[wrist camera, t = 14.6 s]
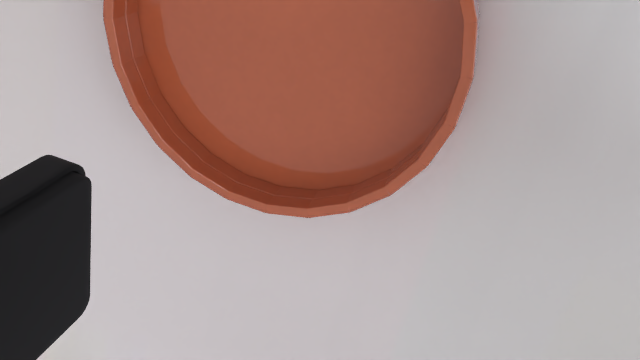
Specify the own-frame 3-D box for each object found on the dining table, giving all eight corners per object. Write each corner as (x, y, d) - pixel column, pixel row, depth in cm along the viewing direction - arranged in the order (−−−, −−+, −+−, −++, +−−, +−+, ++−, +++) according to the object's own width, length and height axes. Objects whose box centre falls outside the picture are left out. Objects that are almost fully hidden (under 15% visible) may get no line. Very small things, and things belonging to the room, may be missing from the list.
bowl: (542, -122, 24) (547, -124, 22) (413, 235, 34) (406, 263, 31) (145, -217, 27) (108, -229, 25) (128, 136, 37) (99, 154, 34)
